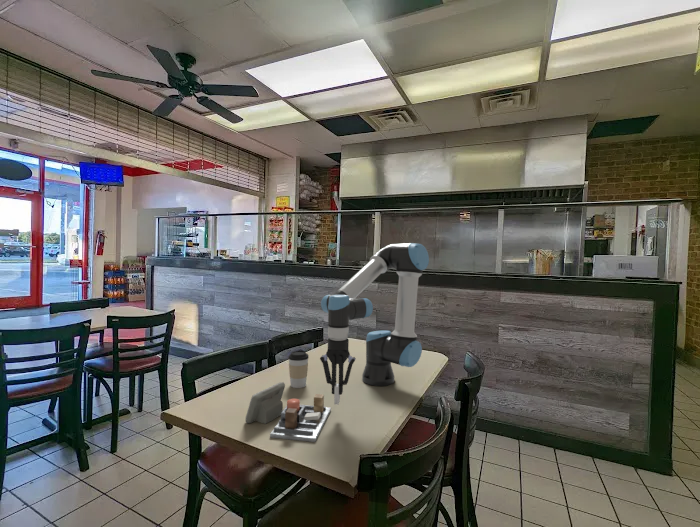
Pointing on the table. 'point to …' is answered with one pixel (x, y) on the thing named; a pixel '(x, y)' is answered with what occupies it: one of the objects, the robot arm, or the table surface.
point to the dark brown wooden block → (291, 418)
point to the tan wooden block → (319, 403)
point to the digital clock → (266, 404)
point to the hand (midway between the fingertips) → (337, 402)
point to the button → (293, 404)
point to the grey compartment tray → (301, 425)
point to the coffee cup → (298, 368)
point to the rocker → (312, 416)
